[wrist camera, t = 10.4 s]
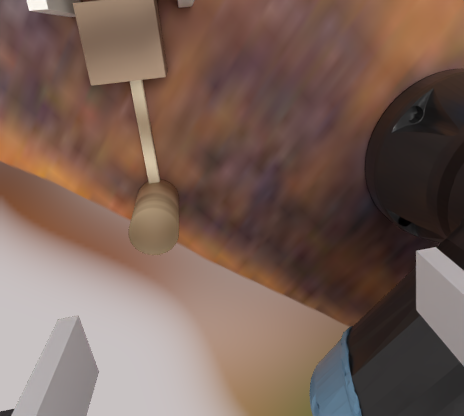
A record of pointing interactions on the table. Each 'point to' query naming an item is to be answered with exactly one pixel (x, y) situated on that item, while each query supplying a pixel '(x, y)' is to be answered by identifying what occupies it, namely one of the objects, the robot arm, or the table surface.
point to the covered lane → (71, 6)
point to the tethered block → (134, 70)
